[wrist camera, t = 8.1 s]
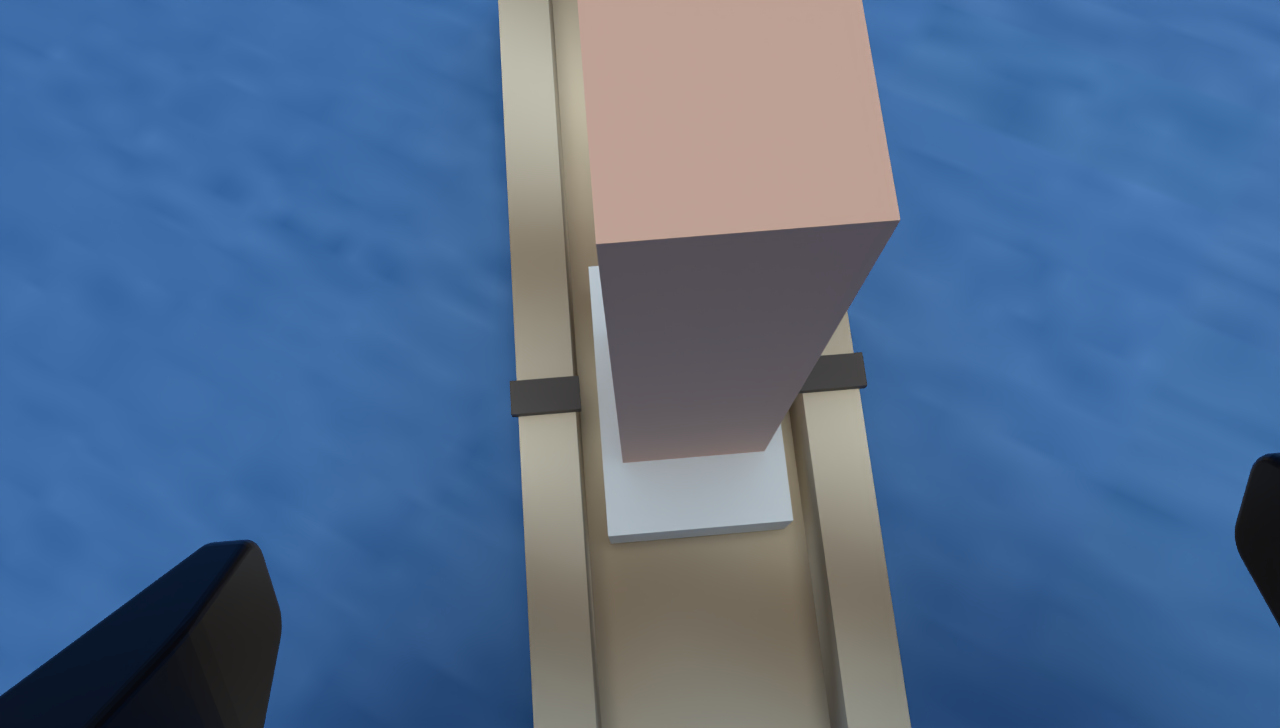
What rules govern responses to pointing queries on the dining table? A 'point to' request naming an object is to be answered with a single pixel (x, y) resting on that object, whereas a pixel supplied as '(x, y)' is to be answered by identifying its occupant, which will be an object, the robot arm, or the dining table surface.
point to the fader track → (680, 567)
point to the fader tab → (722, 241)
